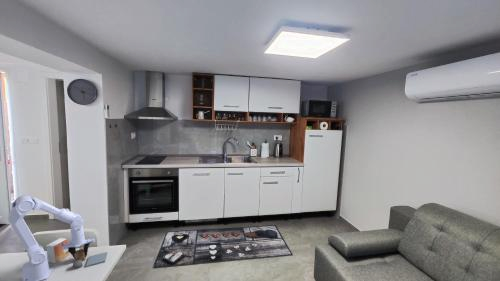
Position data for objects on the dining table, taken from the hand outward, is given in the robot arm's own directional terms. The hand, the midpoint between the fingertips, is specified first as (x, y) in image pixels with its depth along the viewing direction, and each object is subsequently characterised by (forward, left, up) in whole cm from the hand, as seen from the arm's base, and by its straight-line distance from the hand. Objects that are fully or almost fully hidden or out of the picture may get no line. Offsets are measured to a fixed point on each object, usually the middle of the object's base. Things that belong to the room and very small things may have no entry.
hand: (80, 257), depth 129 cm
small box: (-12, +7, -2) cm, 14 cm away
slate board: (+9, -5, -1) cm, 10 cm away
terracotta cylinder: (0, +7, -2) cm, 7 cm away
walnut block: (0, 0, -1) cm, 1 cm away
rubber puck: (0, -7, -2) cm, 7 cm away
